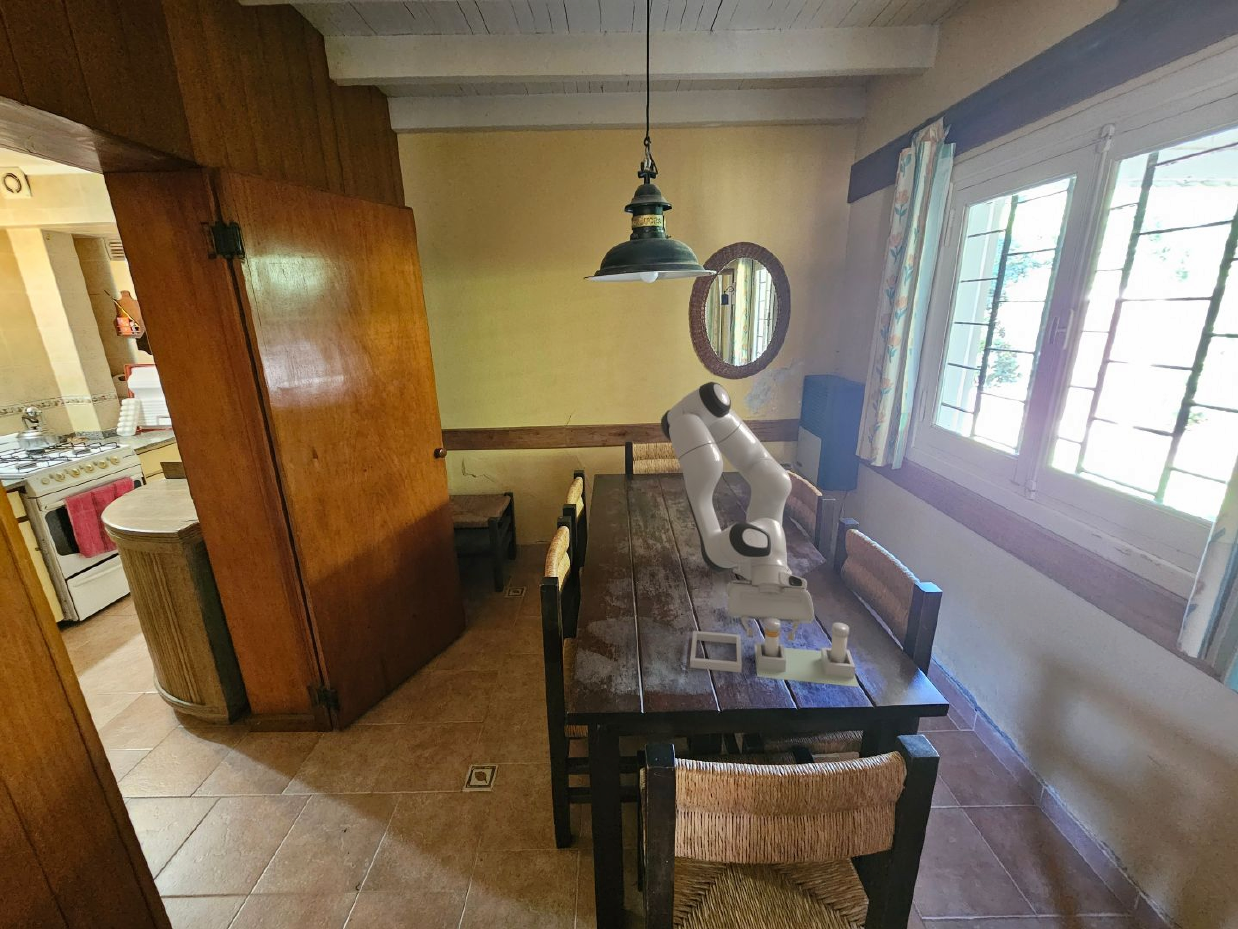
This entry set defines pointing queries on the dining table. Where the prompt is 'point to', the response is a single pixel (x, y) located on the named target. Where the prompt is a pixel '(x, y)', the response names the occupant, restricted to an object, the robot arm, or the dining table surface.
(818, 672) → the fuse board
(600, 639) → the dining table surface
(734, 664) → the parts tray
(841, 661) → the peg
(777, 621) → the orange-banded cylinder plug
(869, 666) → the dining table surface
